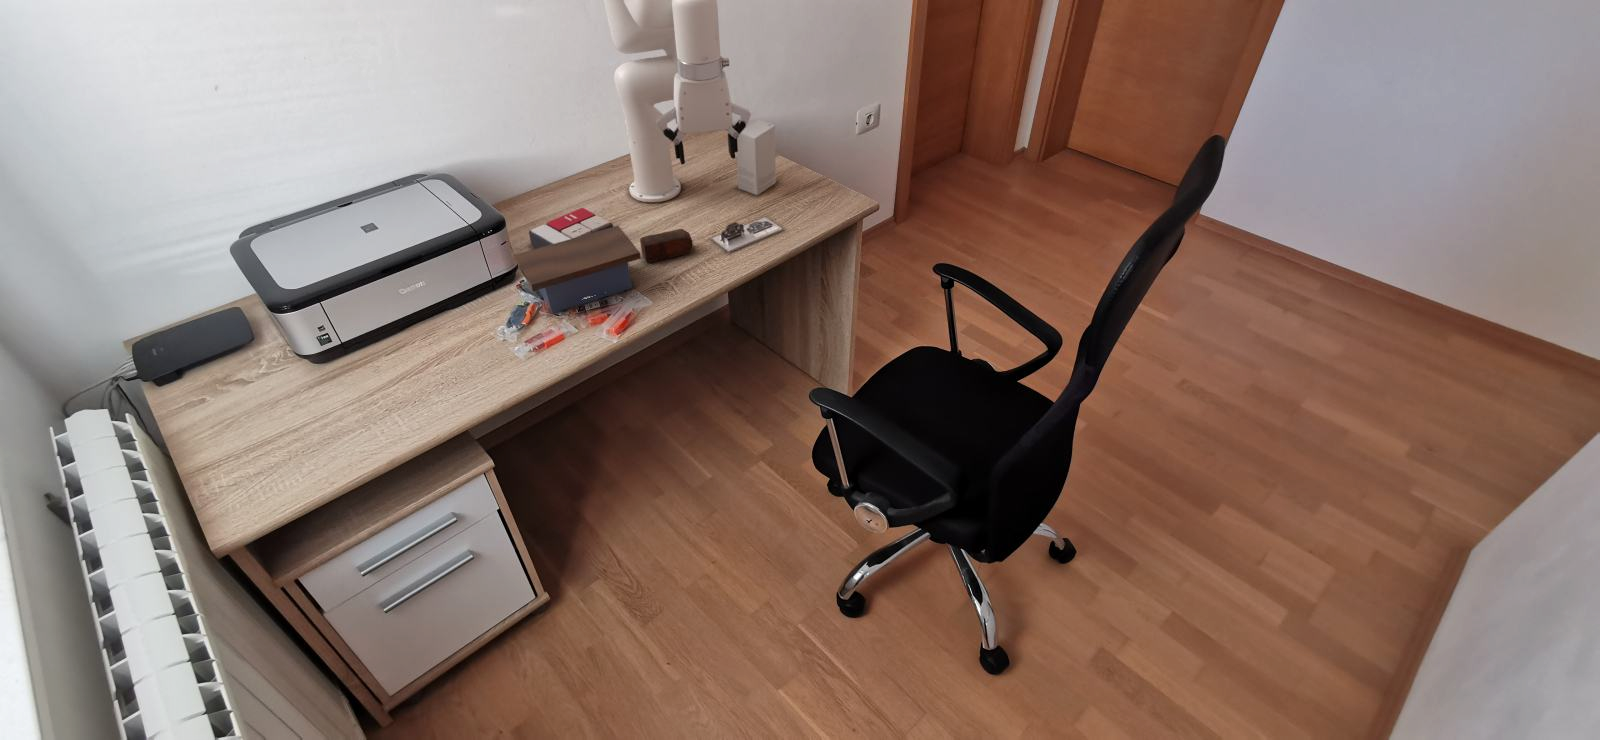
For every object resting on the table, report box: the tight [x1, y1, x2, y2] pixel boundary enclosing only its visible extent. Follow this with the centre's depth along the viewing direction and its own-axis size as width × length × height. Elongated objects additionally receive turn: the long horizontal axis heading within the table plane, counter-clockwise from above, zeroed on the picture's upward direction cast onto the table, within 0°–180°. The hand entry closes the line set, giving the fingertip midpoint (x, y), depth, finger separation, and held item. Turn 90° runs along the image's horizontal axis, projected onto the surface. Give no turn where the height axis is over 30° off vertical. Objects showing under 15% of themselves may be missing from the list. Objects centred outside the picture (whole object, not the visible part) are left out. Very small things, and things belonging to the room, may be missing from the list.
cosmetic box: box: [735, 118, 777, 196], centre depth 183 cm, size 8×7×16 cm
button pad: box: [528, 207, 614, 249], centre depth 167 cm, size 11×4×15 cm
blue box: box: [538, 262, 633, 314], centre depth 153 cm, size 10×17×7 cm, turn 121°
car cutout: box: [712, 216, 783, 253], centre depth 169 cm, size 15×7×4 cm, turn 129°
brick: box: [639, 228, 694, 263], centre depth 163 cm, size 11×4×5 cm, turn 116°
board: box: [513, 225, 642, 292], centre depth 150 cm, size 12×22×2 cm, turn 121°
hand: (707, 158), depth 142 cm, fingers open, 9 cm apart
